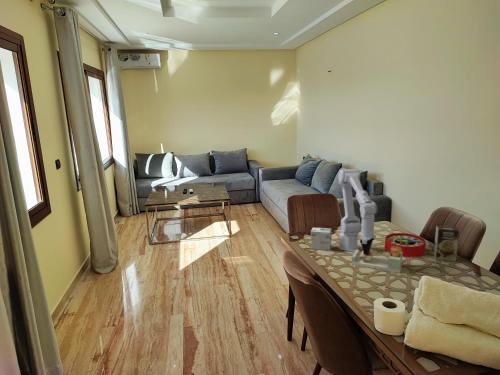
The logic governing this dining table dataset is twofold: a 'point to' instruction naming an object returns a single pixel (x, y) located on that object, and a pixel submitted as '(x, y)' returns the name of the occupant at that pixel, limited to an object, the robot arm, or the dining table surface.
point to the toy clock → (406, 244)
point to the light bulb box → (321, 238)
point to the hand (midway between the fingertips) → (366, 252)
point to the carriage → (366, 256)
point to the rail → (379, 262)
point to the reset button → (396, 251)
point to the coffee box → (446, 243)
